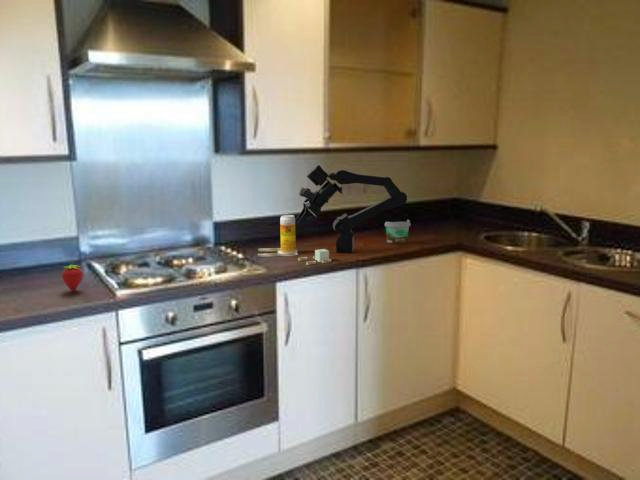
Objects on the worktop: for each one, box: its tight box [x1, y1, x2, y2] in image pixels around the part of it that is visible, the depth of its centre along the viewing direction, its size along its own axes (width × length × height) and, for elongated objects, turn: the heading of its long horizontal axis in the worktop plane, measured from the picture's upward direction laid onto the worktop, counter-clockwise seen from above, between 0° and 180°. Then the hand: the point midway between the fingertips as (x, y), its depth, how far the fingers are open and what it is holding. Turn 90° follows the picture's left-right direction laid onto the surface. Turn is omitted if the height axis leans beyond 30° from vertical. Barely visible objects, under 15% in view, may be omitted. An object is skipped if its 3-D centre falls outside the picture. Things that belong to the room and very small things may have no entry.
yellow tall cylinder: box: [279, 214, 297, 253], centre depth 225 cm, size 6×6×15 cm
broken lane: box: [297, 255, 332, 266], centre depth 212 cm, size 10×8×1 cm
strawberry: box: [61, 262, 84, 293], centre depth 173 cm, size 6×8×10 cm
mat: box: [277, 249, 299, 256], centre depth 226 cm, size 8×8×1 cm
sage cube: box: [314, 248, 330, 263], centre depth 213 cm, size 4×4×4 cm
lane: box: [257, 247, 296, 258], centre depth 226 cm, size 15×11×1 cm
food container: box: [384, 219, 411, 245], centre depth 243 cm, size 12×6×10 cm, turn 114°
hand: (297, 221), depth 224 cm, fingers open, 9 cm apart
